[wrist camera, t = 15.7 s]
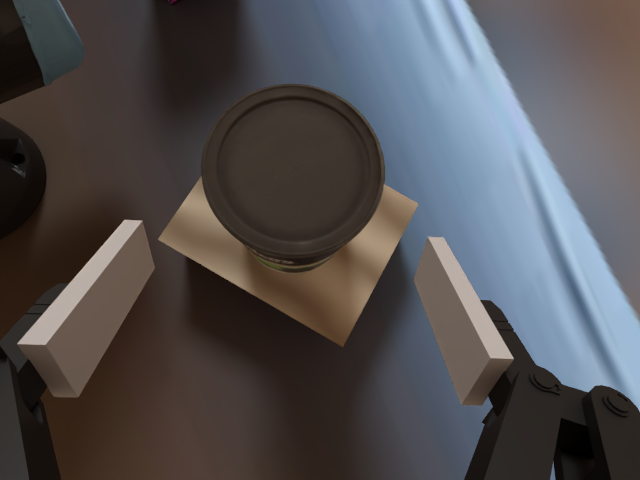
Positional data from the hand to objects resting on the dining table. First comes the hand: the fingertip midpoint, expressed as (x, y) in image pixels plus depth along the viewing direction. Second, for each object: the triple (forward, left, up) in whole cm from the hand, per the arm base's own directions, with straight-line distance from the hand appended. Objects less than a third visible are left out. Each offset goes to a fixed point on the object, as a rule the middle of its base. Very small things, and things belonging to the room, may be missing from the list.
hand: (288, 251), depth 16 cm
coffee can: (+5, +2, -16) cm, 17 cm away
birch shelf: (+5, +2, -23) cm, 24 cm away
